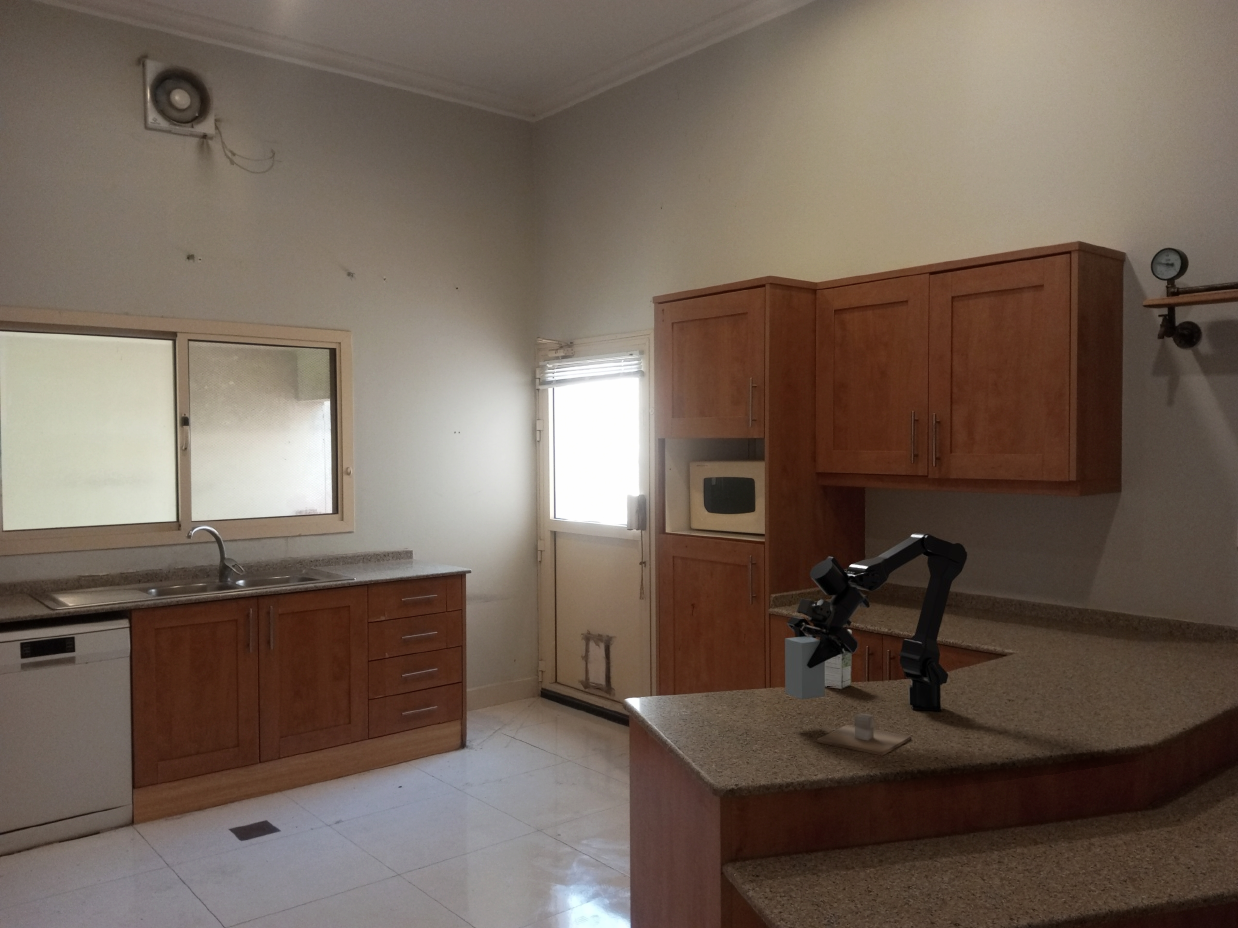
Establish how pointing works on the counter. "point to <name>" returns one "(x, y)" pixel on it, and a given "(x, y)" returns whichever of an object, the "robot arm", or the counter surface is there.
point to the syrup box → (838, 670)
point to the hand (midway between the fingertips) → (799, 664)
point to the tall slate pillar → (803, 669)
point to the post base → (864, 745)
